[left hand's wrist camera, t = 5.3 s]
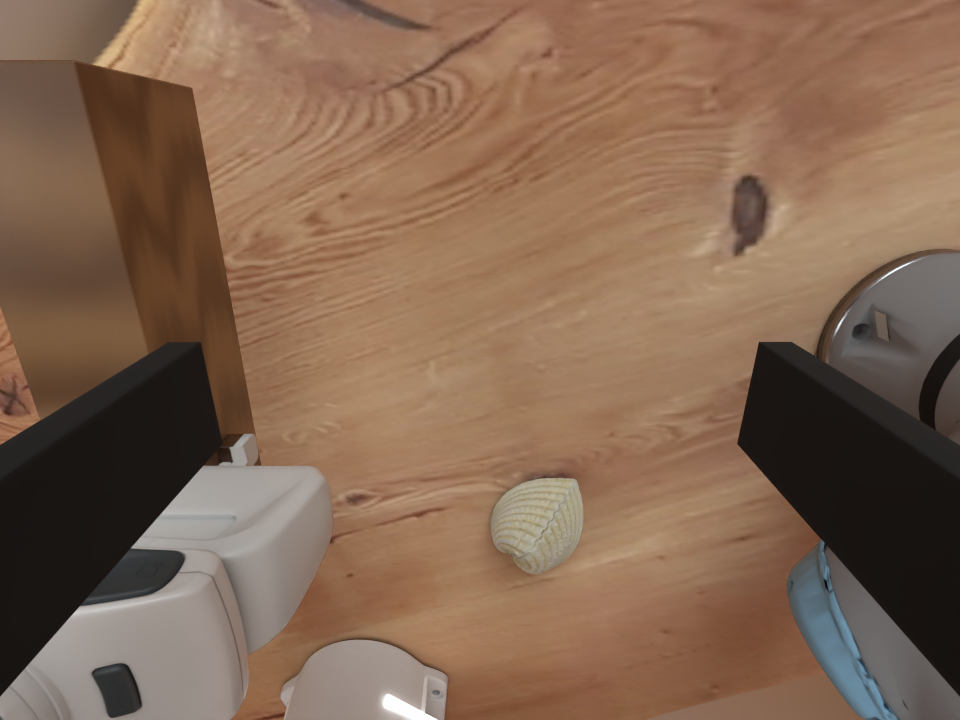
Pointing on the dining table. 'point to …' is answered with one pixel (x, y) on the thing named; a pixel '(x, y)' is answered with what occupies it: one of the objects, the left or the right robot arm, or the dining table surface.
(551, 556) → the seashell
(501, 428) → the dining table surface
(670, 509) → the dining table surface
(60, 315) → the bar
